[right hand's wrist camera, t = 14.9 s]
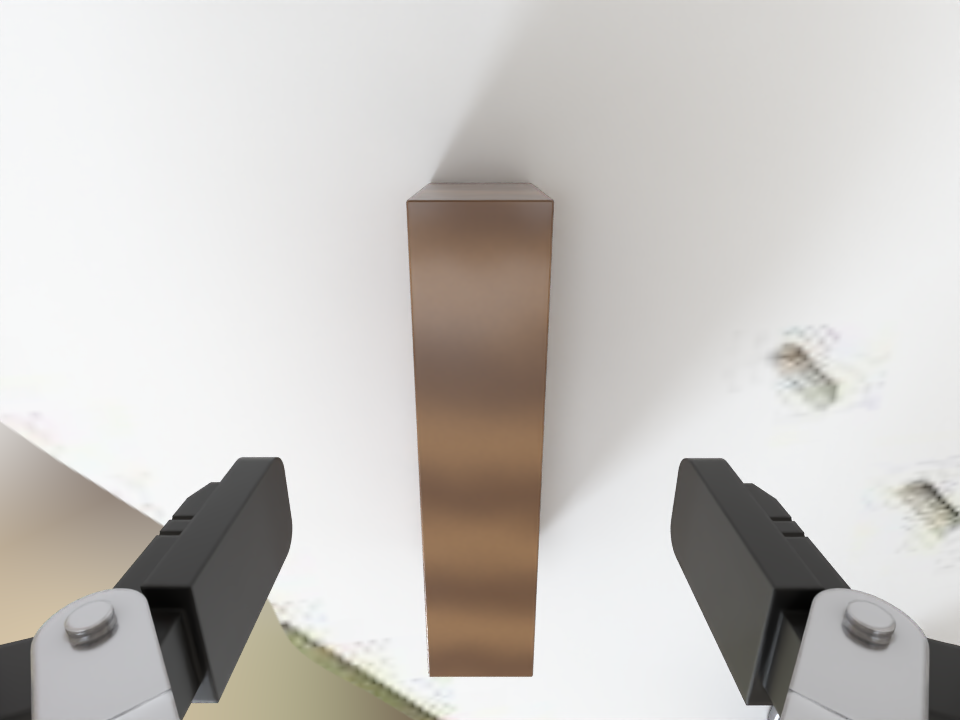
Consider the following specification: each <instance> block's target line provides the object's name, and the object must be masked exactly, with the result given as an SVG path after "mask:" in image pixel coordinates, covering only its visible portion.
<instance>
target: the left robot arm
mask: <svg viewBox="0 0 960 720" xmlns="http://www.w3.org/2000/svg"><path fill="white" fill-rule="evenodd" d="M768 720H780V717H779V715H778V713H777V711H776V709H775V707H774V705H773V707H772V709H771V711H770V714H769V718H768Z"/></svg>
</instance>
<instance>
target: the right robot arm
mask: <svg viewBox="0 0 960 720" xmlns="http://www.w3.org/2000/svg"><path fill="white" fill-rule="evenodd" d="M172 517H173V518H172V520H169V521H168V522H167V523H166V525H165V526H164V527H163V528H162V529H161V531H160V535H157V536H156V537H155V538H154V539H153V540H152V542H151V543H150V544H149V545H148V546H147V548H146V549H145V550H144V551H143V553H142V554H141V555H140V556H139V557H138V559H137V560H136V561H135V562H134V564H133V565H132V566H131V567H130V568H129V569H128V571H127V572H126V573H125V574H124V575H123V577H122V578H121V579H120V580H119V582H118V583H117V584H116V585H115V586H114V588H113V589H108V590H103V591H99V592H96V593H93V594H90V595H87V596H85V597H82V598H80V599H78V600H76V601H74V602H72V603H70V604H68V605H67V606H65V607H64V608H62V609H60V610H59V611H58V612H56V613H55V614H54V615H52V616H51V617H50V618H49V619H48V620H47V621H46V622H45V623H44V624H43V625H42V626H41V627H40V629H39V630H38V631H37V633H36V635H35V636H34V637H32V638H28V639H24V640H20V641H15V642H11V643H7V644H3V645H0V720H182V719H183V717H184V715H185V714H186V712H187V710H188V708H189V706H190V704H191V703H218V702H219V700H220V698H221V695H222V693H223V691H224V689H225V687H226V685H227V683H228V680H229V678H230V676H231V674H232V672H233V670H234V668H235V666H236V663H237V661H238V659H239V657H240V655H241V653H242V651H243V648H244V646H245V644H246V642H247V640H248V638H249V636H250V633H251V631H252V629H253V627H254V625H255V623H256V621H257V619H258V616H259V614H260V612H261V610H262V608H263V606H264V604H265V601H266V599H267V597H268V595H269V593H270V591H271V589H272V587H273V584H274V582H275V580H276V578H277V576H278V574H279V572H280V569H281V567H282V565H283V563H284V561H285V559H286V557H287V554H288V552H289V549H290V544H291V539H292V518H291V511H290V504H289V498H288V491H287V484H286V477H285V470H284V465H283V462H282V460H281V459H280V458H278V457H241V458H239V459H238V460H237V461H236V462H235V463H234V465H233V466H232V467H231V469H230V470H229V471H228V473H227V474H226V475H225V477H224V478H223V479H222V480H221V482H211V483H209V484H208V485H206V486H205V487H203V488H202V489H200V490H199V491H197V492H196V493H194V494H193V495H191V496H190V497H188V498H187V499H186V500H185V502H184V503H183V504H182V505H181V506H180V508H179V509H178V510H177V511H176V512H175V514H174V515H173V516H172ZM671 541H672V546H673V550H674V553H675V556H676V558H677V560H678V562H679V564H680V566H681V569H682V571H683V573H684V575H685V577H686V579H687V581H688V583H689V585H690V587H691V590H692V592H693V594H694V596H695V598H696V600H697V602H698V604H699V606H700V609H701V611H702V613H703V615H704V617H705V619H706V621H707V623H708V625H709V628H710V630H711V632H712V634H713V636H714V638H715V640H716V642H717V644H718V647H719V649H720V651H721V653H722V655H723V657H724V659H725V661H726V663H727V666H728V668H729V670H730V672H731V674H732V676H733V678H734V680H735V682H736V685H737V687H738V689H739V691H740V693H741V695H742V697H743V699H744V701H745V703H746V705H774V707H775V709H776V711H777V713H778V715H779V717H780V720H960V646H958V645H953V644H949V643H945V642H941V641H936V640H932V639H929V638H926V636H925V634H924V633H923V631H922V630H921V629H920V627H919V626H918V625H917V624H916V623H915V622H914V621H913V620H912V619H911V618H910V617H909V616H908V615H906V614H905V613H904V612H902V611H901V610H900V609H898V608H896V607H895V606H893V605H892V604H890V603H888V602H886V601H884V600H882V599H880V598H878V597H875V596H873V595H870V594H867V593H864V592H861V591H857V590H852V589H851V588H850V587H849V586H848V585H847V584H846V582H845V581H844V580H843V579H842V578H841V576H840V575H839V574H838V573H837V572H836V570H835V569H834V568H833V567H832V566H831V564H830V563H829V562H828V561H827V560H826V558H825V557H824V556H823V555H822V554H821V552H820V551H819V550H818V549H817V548H816V546H815V545H814V544H813V543H812V542H811V540H810V539H809V538H808V537H805V536H804V532H803V531H802V530H801V528H800V527H799V526H798V525H797V524H796V522H795V521H792V520H791V516H790V515H789V514H788V513H787V512H786V510H785V509H784V508H783V507H782V506H781V504H780V503H779V502H778V501H777V500H776V499H775V498H774V497H772V496H771V495H769V494H768V493H766V492H765V491H763V490H762V489H760V488H759V487H757V486H756V485H754V484H753V483H743V482H742V481H741V480H740V478H739V477H738V476H737V474H736V473H735V472H734V470H733V469H732V468H731V467H730V465H729V464H728V463H727V462H726V461H725V460H724V459H722V458H685V459H683V460H682V461H681V463H680V466H679V471H678V478H677V485H676V491H675V498H674V505H673V512H672V518H671Z"/></svg>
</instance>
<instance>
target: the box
mask: <svg viewBox="0 0 960 720" xmlns="http://www.w3.org/2000/svg"><path fill="white" fill-rule="evenodd" d="M406 206H407V227H408V249H409V270H410V291H411V313H412V334H413V356H414V377H415V398H416V420H417V441H418V463H419V484H420V505H421V527H422V548H423V570H424V591H425V612H426V634H427V655H428V675H429V676H430V677H532V676H533V661H534V638H535V616H536V594H537V571H538V549H539V526H540V504H541V481H542V459H543V437H544V414H545V392H546V369H547V347H548V325H549V302H550V280H551V257H552V235H553V212H554V201H553V200H552V199H551V198H550V197H548V196H547V195H546V194H544V193H543V192H542V191H540V190H539V189H538V188H537V187H535V186H534V185H533V184H531V183H429V184H428V185H426V186H425V187H424V188H423V189H421V190H420V191H419V192H417V193H416V194H415V195H414V196H412V197H411V198H410V199H408V200H407V202H406Z"/></svg>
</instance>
